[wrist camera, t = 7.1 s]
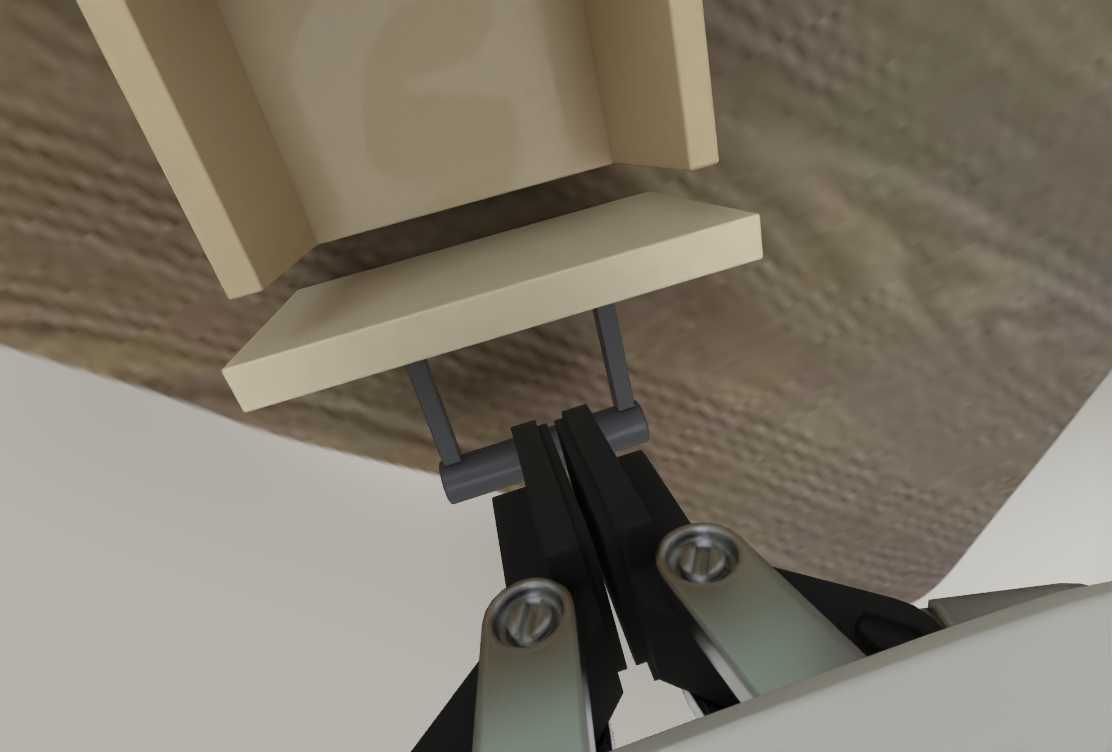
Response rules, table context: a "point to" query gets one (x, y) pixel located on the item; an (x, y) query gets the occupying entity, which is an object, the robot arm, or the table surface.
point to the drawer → (427, 174)
